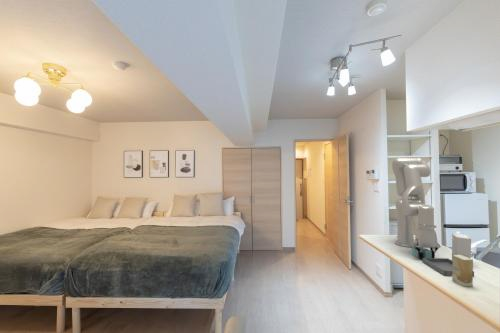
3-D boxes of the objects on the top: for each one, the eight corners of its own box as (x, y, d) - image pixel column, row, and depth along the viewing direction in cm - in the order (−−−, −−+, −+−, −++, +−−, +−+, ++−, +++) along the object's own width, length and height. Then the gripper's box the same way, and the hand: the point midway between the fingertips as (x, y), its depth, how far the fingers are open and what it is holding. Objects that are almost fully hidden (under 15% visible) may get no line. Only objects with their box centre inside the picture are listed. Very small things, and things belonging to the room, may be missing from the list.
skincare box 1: (451, 259, 142) (451, 232, 142) (466, 261, 139) (466, 234, 139) (456, 265, 134) (455, 236, 134) (472, 267, 131) (471, 237, 131)
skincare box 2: (451, 280, 116) (451, 254, 116) (460, 280, 117) (460, 254, 117) (464, 287, 110) (464, 259, 110) (473, 286, 110) (473, 259, 110)
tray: (422, 262, 139) (422, 257, 139) (448, 262, 137) (448, 258, 138) (444, 275, 121) (444, 270, 121) (474, 276, 120) (473, 271, 120)
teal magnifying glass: (409, 253, 153) (409, 244, 153) (422, 253, 153) (422, 244, 153) (421, 260, 141) (421, 251, 141) (436, 261, 140) (436, 251, 140)
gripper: (437, 226, 146) (437, 256, 146) (406, 225, 147) (407, 256, 147) (446, 229, 138) (446, 261, 138) (414, 228, 140) (414, 260, 140)
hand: (426, 258), depth 143 cm, fingers open, 5 cm apart
